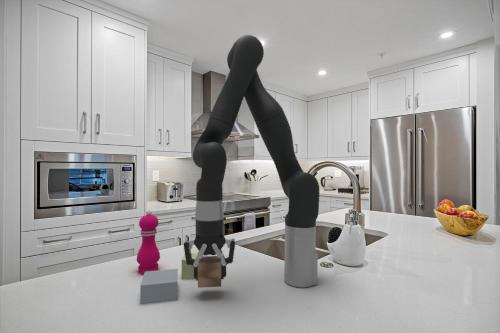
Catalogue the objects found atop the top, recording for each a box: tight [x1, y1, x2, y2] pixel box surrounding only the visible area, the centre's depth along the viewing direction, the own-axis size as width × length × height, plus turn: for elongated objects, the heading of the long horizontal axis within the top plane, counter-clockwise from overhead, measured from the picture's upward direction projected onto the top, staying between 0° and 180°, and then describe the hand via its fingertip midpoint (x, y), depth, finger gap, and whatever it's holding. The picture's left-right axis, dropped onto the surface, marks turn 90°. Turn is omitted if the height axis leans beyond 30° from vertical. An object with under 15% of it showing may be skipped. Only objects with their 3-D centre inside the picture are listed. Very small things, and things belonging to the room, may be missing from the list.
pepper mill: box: [136, 209, 161, 275], centre depth 88 cm, size 7×7×20 cm
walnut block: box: [197, 255, 223, 289], centre depth 72 cm, size 6×6×6 cm
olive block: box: [180, 252, 198, 280], centre depth 85 cm, size 6×6×6 cm
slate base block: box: [139, 268, 179, 305], centre depth 72 cm, size 9×9×5 cm
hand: (210, 278), depth 72 cm, fingers closed on walnut block, 6 cm apart
